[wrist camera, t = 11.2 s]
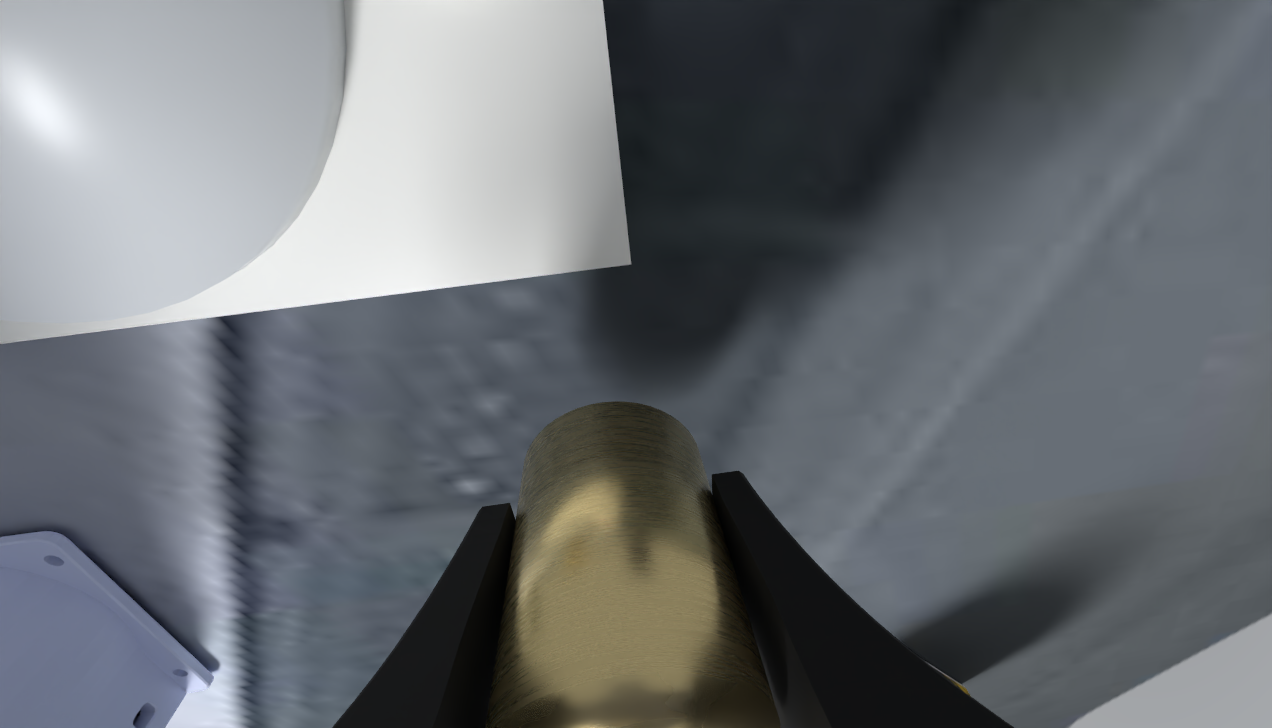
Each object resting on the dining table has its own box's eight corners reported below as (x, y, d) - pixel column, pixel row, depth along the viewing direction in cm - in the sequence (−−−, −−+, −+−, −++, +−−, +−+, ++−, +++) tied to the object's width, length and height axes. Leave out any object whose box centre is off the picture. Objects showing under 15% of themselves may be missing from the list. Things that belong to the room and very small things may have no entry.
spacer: (702, 521, 14) (773, 788, 9) (542, 543, 14) (519, 828, 9) (697, 389, 11) (789, 651, 6) (504, 415, 11) (440, 703, 6)
